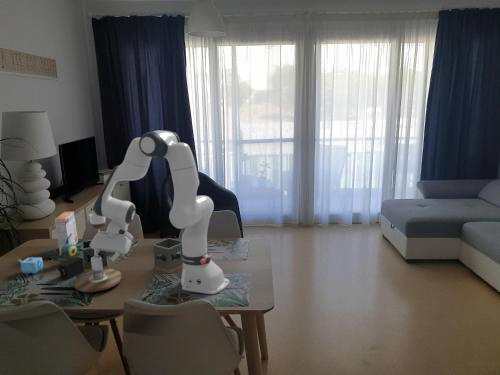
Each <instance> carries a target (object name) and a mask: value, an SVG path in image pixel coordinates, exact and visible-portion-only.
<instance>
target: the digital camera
mask: <svg viewBox="0 0 500 375" xmlns="http://www.w3.org/2000/svg"><path fill="white" fill-rule="evenodd" d="M83 258H84V257H78V256H75V257H72V258H70V260H69V261H68V260H66V261H65V262H61V263H59V264H58V266H57V267H58V268H57V269H58V272H59V274H60V279H61V280H64V281H65V280H66V281H68V280H70V279H72V278H73V277H76V276H77V275H79V274H81V273H83V272H85V267H84V266H85V265H84V259H83Z"/></svg>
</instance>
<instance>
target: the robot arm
mask: <svg viewBox="0 0 500 375" xmlns="http://www.w3.org/2000/svg"><path fill="white" fill-rule="evenodd" d="M153 158H157V159H163V158H165V160H167V161H168V166H169V169H170V170H169V171H170V174H171V179H172V184H173V202H172V207H171V210H170V211H169V215H168V216H169V221H170V223H171V225H172V226H174V227H175V228H176V229H179V230H181V229H184V231H183V233H182V236H181V247H182V248H181V249H182V252H181V262H182V271H181V273H182V274H181V279H180V285H181V290H182V291H188V292H193V293H201V294H206V295H207V294H208V295H214V294H217V293H220V292H221V291H223V290H225V289H226V288H227V287H228V285H229V284H230V279H228V278H226V277H225V274H224V272H223V269H221V268H220V266H219V265H217V264H216V263H215V262H213V260H212V258H213V254H209V250H208V229H209V224H210V220H211V216H212V213H213V212H214V208H215V204H214V201H213V200H212V198H211V197H209V195H208V196H207V195H197V192H198V188H199V186H200V179H199V174H198V168H197V165H196V161H195V157H194V155H193V152H192V149H191V147H190V145H189V144H188V143H185V142H181V139H180V137H179V135H178V134H177V133H176V132H174V131H172V130H159V129H158V130H153V131H148V132H146V133H144V134H143V135H141V136H140V137H135V138H133V139H132V140H131V142H130V144H129V146H128V148H127V150H126V154H125V156H124V159H123V161H122V163H121V164H120V165H115V166H114V167H113V169H112V170H111V172H109V174H108V175H109V176H108V177H107V179H106V181H105V183H104V185H103V187H102V188H101V190H100V193H99V194H98V197H96V199H95V200H94V203H93V205H92V210H93V213H96V215H98V216H103V217H105V218H107V219H110V220H111V221H110V222H109V224H108V226H107V228H106V231H104V230H103V231H102V230H100V232H97V233H95V235H94V237H93V238H92V239H91V241H90V243H89V247H90V248H91V249H92V250H93V252H94V254H93V256H100V255H99V253H100V251H102V252H109V253H114V254H113V255H112V256H110V258H109V261H110V262H114V263H115V261H116V260H117V258H118V257H119V256H120V255H121V254H124V255H126V254H128V253H129V251H130V249H131V246H132V243H133V242H132V241H133V240H134V236H133V235H132V234H131V233H130V232H128V227H129V225H130V224H131V223H132V222H133V220H134V218H135V216H136V212H137V210H136V205H135V204H134V203H133V202H131V201H129V200H121V199H118V198H115V197H113V196H111V194H112V192H113V190H114V188H115V186H116V183H118V182H121V181H125V182H126V181H133V182H134V181H137V180H140V179H143V178H144V177H145V176H146V174H147V172H148V170H149V167H150V165H151V161H152V159H153Z"/></svg>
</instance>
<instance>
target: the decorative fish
mask: <svg viewBox="0 0 500 375" xmlns="http://www.w3.org/2000/svg"><path fill="white" fill-rule="evenodd" d="M71 235H72V234H70V235H69V237H70V236H71ZM69 237H68V238H67V240H66V244H65V245H64V246H63V247H62V249H61V253H60V252H59V254H58V256H59V257H63V258H64V259H66V260H67V261H69V260H71V258H73V257H74V256H75V255H76V253H77V251H80V250H81V249H82V246H83V244H84V242H82V241H81V240H78V242H77V243H76V244H75V245H72V244H69V242H68V239H69Z"/></svg>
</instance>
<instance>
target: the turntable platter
mask: <svg viewBox="0 0 500 375" xmlns="http://www.w3.org/2000/svg"><path fill="white" fill-rule="evenodd" d="M103 274H104V278H103V279H101V280H93V273H92V270H91V271H87V272H85V273H83V274H80V275H79V276H78V277H77V278H75V280H74V283H73V284H74V286H73V287H74V289H75V290H77V291H79V292H83V293H97V292H102V291H106V290H108V289H112V288H113V287H115V286H116V285H118V284H119V283H120V282H121V281H122V277H123V276H122V273H121V271H120V270H117V269H115V268H114V269H113V268H103ZM96 291H97V292H96Z"/></svg>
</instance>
